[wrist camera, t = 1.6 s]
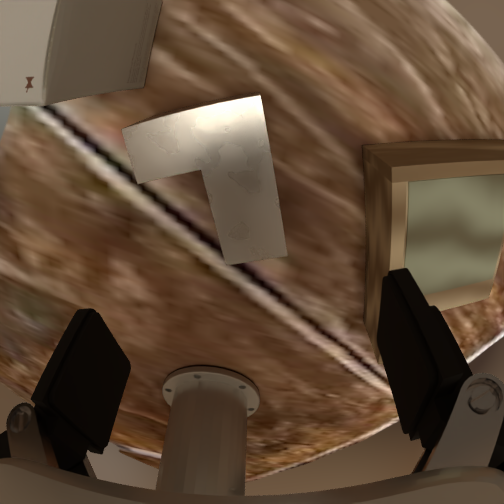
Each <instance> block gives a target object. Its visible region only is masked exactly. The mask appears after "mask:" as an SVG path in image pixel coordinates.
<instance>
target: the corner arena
mask: <svg viewBox="0 0 504 504" xmlns="http://www.w3.org/2000/svg"><path fill="white" fill-rule="evenodd" d="M362 153H363V168H364V186H365V213H366V274H365V302H364V320H363V321H364V324H365V327H366V330H367V332H368V335H369V338H370V341H371V344H372V347H373V350H374V353H375V356H376V359H377V362H378V364H383V362H382V358H381V355H380V352H379V349H378V346H377V329H378V320H379V311H380V302H381V291H382V279H383V277H384V276H388V272H389V271H390V270H395V269H401V268H407V269H408V270H409V271H410V273H411V274H412V276H413V278H414V280H415V281H416V283H417V285H418V286H419V288H420V290H421V291H422V293H423V295H424V297H425V298H426V300H427V302H428V304H429V306H433V305H434V306H436V307H437V308H438V309H439V311H442V310H446V309H450V308H454V307H458V306H462V305H465V304H469V303H473V302H476V301H480V300H483V299H487V298H489V295H490V292H491V289H492V285H493V282H494V278H495V275H496V271H497V267H498V264H499V260H500V256H501V251H502V247H503V243H504V140H485V139H473V140H431V141H411V142H396V143H382V144H370V145H362Z"/></svg>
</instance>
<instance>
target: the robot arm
mask: <svg viewBox="0 0 504 504" xmlns="http://www.w3.org/2000/svg"><path fill="white" fill-rule="evenodd" d="M377 346H378V349H379V352H380V355H381V358H382V362H383V365H384V368H385V371H386V374H387V378H388V381H389V384H390V388H391V391H392V394H393V398H394V401H395V405H396V408H397V412H398V416H399V419H400V423H401V426H402V430H403V433H404V434H408V433H409V436H410V440H411V441H412V440H415V439H419V438H420V440H421V444H422V447H423V448H425V449H424V451H423V453H422V455H421V457H420V459H419V460H418V462H417V464H416V466H415V468H414V469H413V471H412V473H411V474H410V475H405V476H401V477H395V478H391V479H386V480H382V481H377V482H373V483H368V484H362V485H357V486H351V487H345V488H338V489H331V490H323V491H316V492H307V493H296V494H283V495H263V496H245V470H246V437H247V417H248V416H250V415H252V414H253V413H254V412H255V411H256V410H257V408H258V407H259V403H260V394H259V391H258V389H257V387H256V386H255V385H254V384H253V383H252V382H251V381H250V380H249V379H247V378H245V377H244V376H242V375H240V374H237V373H235V372H233V371H229V370H226V369H222V368H216V367H207V366H194V367H188V368H183V369H180V370H177V371H175V372H173V373H171V374H170V375H169V376H168V377H167V378H166V380H165V381H164V384H163V388H162V394H163V397H164V399H165V400H166V402H167V403H168V404H169V405H170V406H171V410H170V415H169V420H168V425H167V430H166V435H165V440H164V445H163V451H162V456H161V462H160V467H159V473H158V478H157V485H156V490H152V489H145V488H139V487H133V486H127V485H122V484H117V483H112V482H108V481H103V480H99V479H97V477H96V475H95V473H94V471H93V468H92V466H91V464H90V462H89V460H88V457H87V455H86V453H87V450H89V451H90V452H93V453H97V454H103V451H104V448H105V447H106V446H107V445H108V442H109V439H110V435H111V432H112V428H113V425H114V422H115V418H116V415H117V411H118V408H119V405H120V402H121V398H122V395H123V392H124V389H125V386H126V383H127V380H128V377H129V374H130V370H131V364H130V361H129V360H128V358H127V357H126V355H125V354H124V352H123V351H122V349H121V348H120V346H119V345H118V343H117V341H116V340H115V338H114V337H113V335H112V334H111V332H110V330H109V329H108V327H107V325H106V324H105V322H104V321H103V319H102V317H101V315H100V314H99V313H98V312H96V311H95V310H94V309H92V308H89V309H79V310H77V311H76V313H75V315H74V316H73V318H72V320H71V321H70V323H69V325H68V327H67V329H66V330H65V332H64V334H63V336H62V338H61V339H60V341H59V343H58V345H57V347H56V349H55V351H54V352H53V354H52V356H51V358H50V360H49V362H48V364H47V366H46V368H45V370H44V372H43V374H42V376H41V378H40V380H39V382H38V384H37V386H36V388H35V391H34V393H33V395H32V397H31V400H32V401H33V402H34V403H35V404H36V405H35V407H33V406H32V405H31V404H29V403H27V402H25V403H21V404H18V405H17V406H15V407H14V408H13V409H12V410H11V412H10V413H9V415H8V418H7V422H6V424H7V425H6V427H7V430H6V431H4V432H3V433H2V434H0V504H504V384H503V383H502V382H501V381H500V380H499V379H498V378H497V377H495V376H493V375H491V374H486V373H479V374H475V375H473V374H472V372H471V370H470V368H469V366H468V364H467V362H466V360H465V358H464V356H463V354H462V352H461V350H460V348H459V346H458V344H457V342H456V340H455V338H454V336H453V334H452V332H451V330H450V329H449V327H448V325H447V323H446V321H445V319H444V318H443V316H442V314H441V312H440V311H439V309H438V308H437V307H436V306H434V305H433V306H429V304H428V302H427V300H426V298H425V297H424V295H423V293H422V291H421V290H420V288H419V286H418V285H417V283H416V281H415V280H414V278H413V276H412V274H411V273H410V271H409V270H408V269H407V268H401V269H395V270H390V271H389V272H388V276H384V277H383V279H382V291H381V302H380V311H379V320H378V329H377Z"/></svg>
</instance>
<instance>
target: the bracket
mask: <svg viewBox="0 0 504 504" xmlns="http://www.w3.org/2000/svg"><path fill="white" fill-rule="evenodd" d="M122 133H123V137H124V140H125V144H126V147H127V151H128V154H129V158H130V161H131V164H132V168H133V171H134V174H135V177H136V181H137V184H140V183H144V182H148V181H152V180H157V179H161V178H165V177H169V176H174V175H178V174H183V173H187V172H192V171H197V170H201V171H202V175H203V179H204V183H205V187H206V191H207V195H208V199H209V203H210V207H211V211H212V214H213V218H214V222H215V226H216V230H217V234H218V237H219V241H220V245H221V249H222V252H223V256H224V260H225V263H226V265H232V264H238V263H245V262H252V261H259V260H265V259H272V258H278V257H285V256H287V249H286V242H285V236H284V229H283V223H282V217H281V210H280V204H279V198H278V192H277V186H276V180H275V174H274V168H273V162H272V156H271V151H270V145H269V139H268V134H267V128H266V123H265V117H264V112H263V107H262V101H261V96H260V92H254V93H248V94H243V95H238V96H232V97H227V98H222V99H218V100H213V101H208V102H204V103H200V104H195V105H191V106H187V107H183V108H179V109H176V110H172V111H168V112H164V113H161V114H157V115H154V116H151V117H149V118H146V119H144V120H141V121H139V122H137V123H134V124H132V125H130V126H128V127H125V128H123V129H122Z"/></svg>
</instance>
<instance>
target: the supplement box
mask: <svg viewBox="0 0 504 504" xmlns="http://www.w3.org/2000/svg"><path fill="white" fill-rule="evenodd" d="M161 5H162V0H0V106H45V105H49V104H53V103H58V102H62V101H67V100H71V99H76V98H81V97H86V96H92V95H97V94H103V93H109V92H116V91H122V90H130V89H138V88H143V87H144V84H145V78H146V73H147V68H148V62H149V57H150V53H151V47H152V43H153V39H154V34H155V29H156V25H157V21H158V16H159V13H160V9H161Z"/></svg>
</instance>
